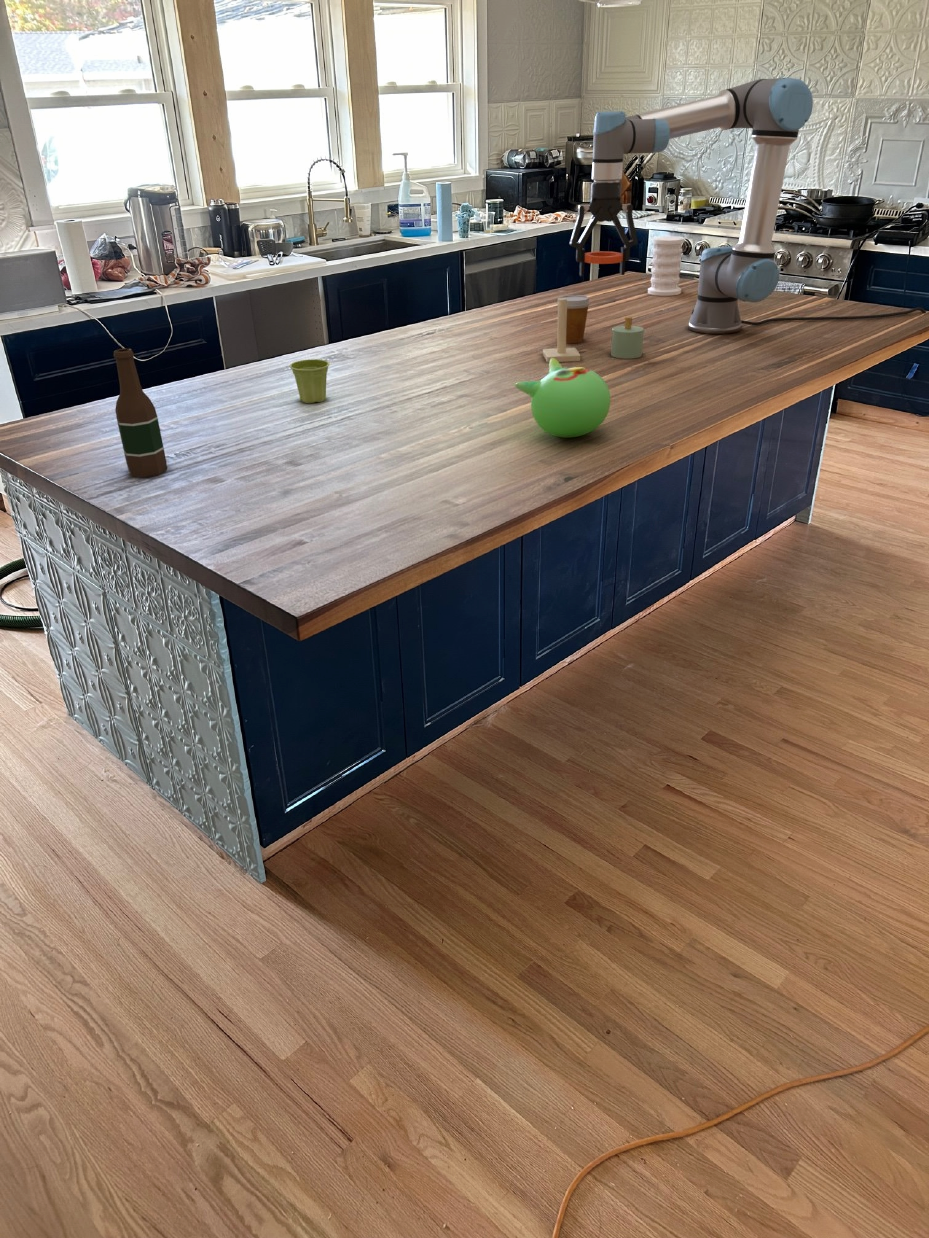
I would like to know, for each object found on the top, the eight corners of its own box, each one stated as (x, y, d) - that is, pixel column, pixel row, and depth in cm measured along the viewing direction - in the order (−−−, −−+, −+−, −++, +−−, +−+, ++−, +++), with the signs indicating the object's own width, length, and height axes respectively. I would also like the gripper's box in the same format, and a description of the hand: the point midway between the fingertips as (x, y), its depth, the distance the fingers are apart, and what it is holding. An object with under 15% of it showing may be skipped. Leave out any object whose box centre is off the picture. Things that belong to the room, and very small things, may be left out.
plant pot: (339, 395, 227) (336, 360, 222) (322, 407, 219) (318, 370, 215) (305, 393, 230) (301, 358, 225) (287, 404, 222) (282, 368, 218)
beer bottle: (133, 465, 188) (106, 346, 176) (171, 463, 188) (148, 344, 176) (124, 479, 181) (96, 356, 169) (164, 477, 181) (139, 354, 169)
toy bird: (585, 453, 186) (587, 380, 179) (512, 440, 194) (511, 370, 187) (621, 427, 199) (625, 359, 192) (551, 417, 207) (552, 350, 200)
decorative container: (647, 295, 323) (651, 240, 314) (647, 289, 333) (651, 236, 324) (681, 296, 321) (686, 240, 312) (680, 289, 331) (684, 235, 322)
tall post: (575, 353, 257) (576, 295, 249) (580, 361, 249) (582, 301, 241) (542, 354, 256) (543, 296, 249) (547, 362, 248) (547, 303, 241)
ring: (617, 257, 245) (618, 251, 244) (625, 263, 236) (626, 256, 236) (580, 258, 245) (580, 252, 244) (587, 264, 236) (587, 257, 235)
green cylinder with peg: (638, 350, 257) (640, 313, 252) (645, 358, 250) (647, 320, 245) (608, 351, 257) (610, 314, 252) (614, 359, 249) (616, 321, 244)
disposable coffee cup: (588, 336, 273) (589, 294, 267) (589, 344, 265) (590, 301, 259) (556, 337, 274) (556, 294, 268) (555, 344, 266) (556, 301, 260)
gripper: (647, 179, 235) (641, 271, 246) (559, 181, 234) (557, 273, 245) (654, 181, 228) (647, 276, 239) (564, 183, 227) (561, 278, 238)
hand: (601, 274), depth 242 cm, fingers closed on ring, 10 cm apart
